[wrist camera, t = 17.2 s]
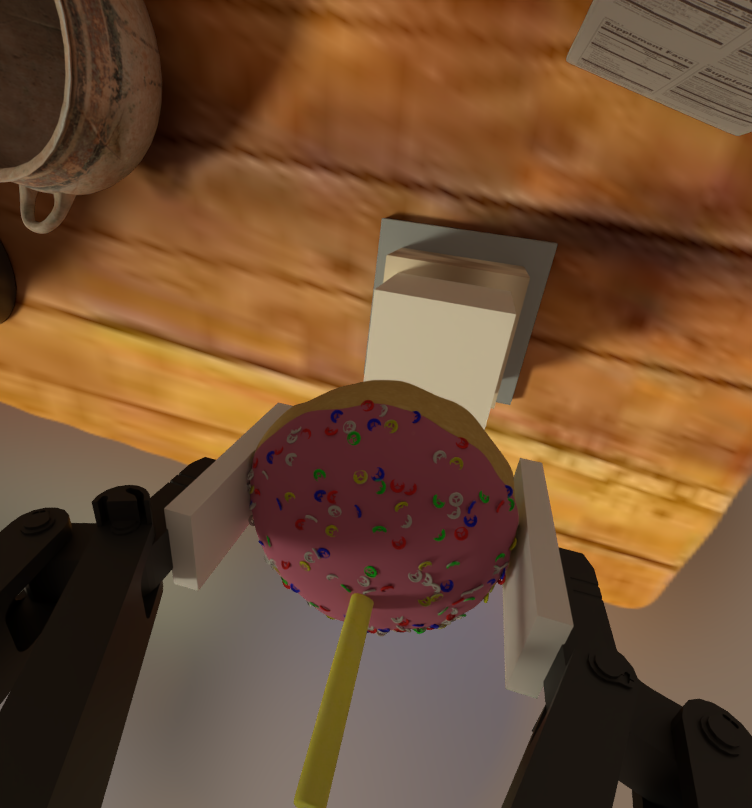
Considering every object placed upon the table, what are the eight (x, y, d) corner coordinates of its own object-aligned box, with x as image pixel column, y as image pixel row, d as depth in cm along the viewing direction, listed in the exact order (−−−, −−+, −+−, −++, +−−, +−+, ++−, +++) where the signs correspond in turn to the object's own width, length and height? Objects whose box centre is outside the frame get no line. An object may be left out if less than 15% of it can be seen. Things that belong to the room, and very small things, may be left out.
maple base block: (386, 359, 40) (370, 382, 35) (401, 247, 36) (386, 254, 30) (493, 380, 38) (494, 408, 33) (524, 266, 34) (530, 278, 29)
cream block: (383, 374, 34) (360, 411, 28) (397, 272, 31) (374, 289, 24) (483, 395, 33) (482, 439, 27) (510, 291, 29) (516, 314, 23)
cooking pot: (-20, -152, 32) (-276, -331, 21) (207, -118, 30) (46, -299, 19) (36, 205, 44) (-113, 206, 33) (202, 250, 41) (100, 267, 31)
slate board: (366, 370, 42) (363, 374, 41) (385, 217, 36) (381, 218, 35) (509, 399, 40) (510, 404, 39) (555, 242, 34) (557, 243, 33)
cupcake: (515, 530, 18) (549, 1001, 7) (327, 523, 20) (149, 871, 10) (507, 330, 15) (550, 665, 4) (284, 351, 17) (-57, 592, 6)
